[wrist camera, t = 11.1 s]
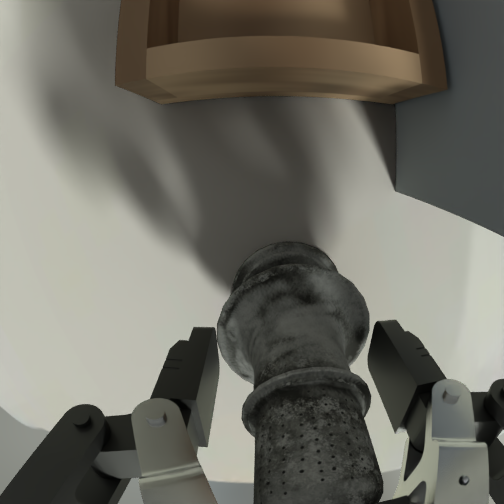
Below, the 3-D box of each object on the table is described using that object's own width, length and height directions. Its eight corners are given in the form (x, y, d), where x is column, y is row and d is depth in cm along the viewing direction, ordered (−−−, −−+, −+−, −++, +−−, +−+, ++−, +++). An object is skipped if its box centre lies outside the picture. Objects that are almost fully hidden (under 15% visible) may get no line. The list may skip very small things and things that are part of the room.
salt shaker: (207, 258, 14) (98, 532, 2) (331, 218, 13) (523, 456, 2) (249, 355, 15) (237, 583, 4) (355, 324, 15) (444, 540, 3)
